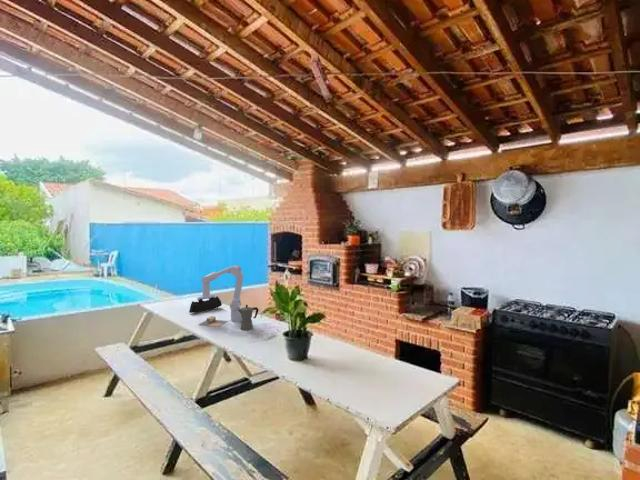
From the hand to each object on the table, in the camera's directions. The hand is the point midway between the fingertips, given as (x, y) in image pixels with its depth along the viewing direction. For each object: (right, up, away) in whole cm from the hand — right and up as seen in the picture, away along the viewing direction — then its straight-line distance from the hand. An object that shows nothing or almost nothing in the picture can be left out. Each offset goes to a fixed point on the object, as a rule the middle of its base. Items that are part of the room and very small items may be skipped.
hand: (206, 307), depth 292 cm
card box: (+6, -10, -6) cm, 13 cm away
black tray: (-9, -8, +28) cm, 30 cm away
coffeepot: (+38, -12, -21) cm, 45 cm away
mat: (+9, -10, -10) cm, 17 cm away
